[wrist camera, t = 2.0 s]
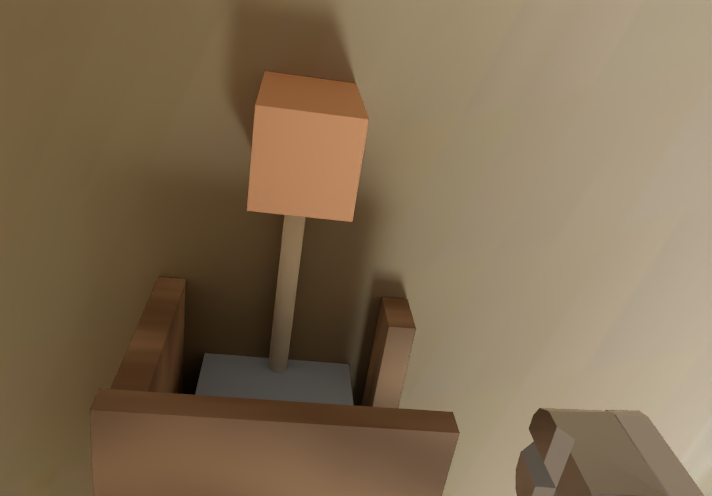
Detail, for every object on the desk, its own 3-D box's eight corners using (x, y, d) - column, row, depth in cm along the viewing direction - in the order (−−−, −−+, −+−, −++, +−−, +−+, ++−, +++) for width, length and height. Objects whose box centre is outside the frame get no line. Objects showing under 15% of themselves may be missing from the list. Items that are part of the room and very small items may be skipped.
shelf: (364, 500, 35) (385, 692, 26) (155, 490, 34) (101, 690, 25) (411, 280, 29) (459, 433, 20) (158, 256, 28) (89, 409, 19)
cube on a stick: (330, 468, 34) (335, 558, 29) (199, 461, 33) (180, 552, 28) (397, 89, 25) (420, 126, 20) (220, 64, 24) (199, 97, 19)
